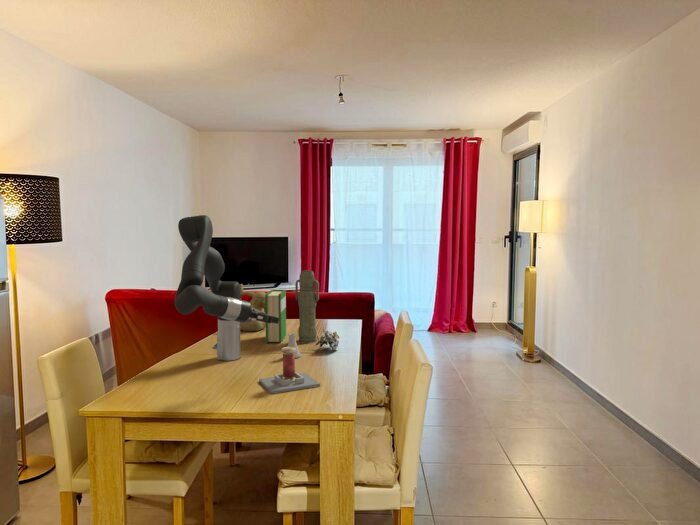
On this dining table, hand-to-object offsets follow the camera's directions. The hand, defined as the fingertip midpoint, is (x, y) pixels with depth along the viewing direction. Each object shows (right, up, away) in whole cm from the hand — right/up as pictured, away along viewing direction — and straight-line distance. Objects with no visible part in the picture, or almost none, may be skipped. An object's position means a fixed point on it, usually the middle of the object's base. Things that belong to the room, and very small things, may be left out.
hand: (271, 318), depth 180 cm
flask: (+3, -21, +36) cm, 42 cm away
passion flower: (+18, -20, +47) cm, 55 cm away
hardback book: (-9, -19, +69) cm, 72 cm away
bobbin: (+6, -23, -1) cm, 24 cm away
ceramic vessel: (-25, -17, +94) cm, 99 cm away
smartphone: (-32, -20, +59) cm, 70 cm away
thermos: (+7, -19, +66) cm, 69 cm away
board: (+6, -24, -1) cm, 25 cm away
